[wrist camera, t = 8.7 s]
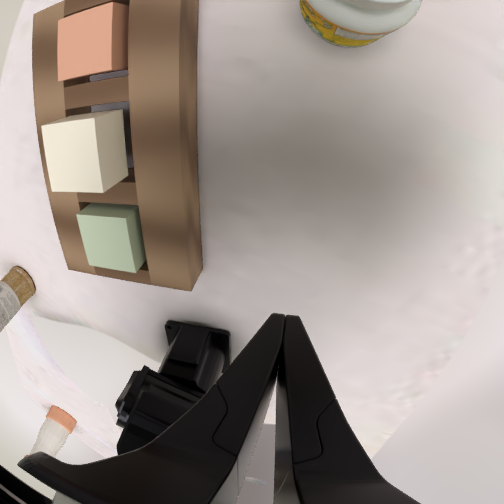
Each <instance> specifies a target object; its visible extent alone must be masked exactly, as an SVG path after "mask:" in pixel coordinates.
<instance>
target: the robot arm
mask: <svg viewBox="0 0 504 504" xmlns="http://www.w3.org/2000/svg"><path fill="white" fill-rule="evenodd" d="M165 330H166V334H167V339H168V343H169V348H168V351H167V353H166V355H165V357H164V359H163V362H162V364H161V366H160V368H159V370H158V373H157V372H155V371H153V370H151V369H149V367H147V366H145V365H144V367H143V368H142V370H141V371H134V372H133V374H132V376H131V378H130V380H129V382H128V383H127V385H126V387H125V388H124V390H123V392H122V393H121V395H120V396H119V398H118V399H117V402H116V404H115V406H116V408H117V411H118V415H117V417H119V418H118V420H117V423H116V425H118V426H120V427H122V428H124V429H123V431H122V434H121V436H120V438H119V441H118V443H117V453H118V455H117V456H114V457H110V458H107V459H103V460H99V461H96V462H92V463H88V464H83V465H71V464H66V463H64V462H61V461H59V460H57V459H56V458H54V457H52V456H50V455H48V454H46V453H44V452H41V451H39V452H37V453H34V454H31V455H29V456H27V457H25V458H23V459H22V460H21V461H20V462H19V463H18V464H17V465H18V466H19V467H20V468H22V469H23V470H25V471H26V472H28V473H29V474H30V475H32V476H33V477H35V478H37V479H38V480H40V481H41V482H43V483H44V484H46V485H47V486H49V487H51V488H52V489H54V490H56V493H55V496H54V498H53V500H50V499H49V498H48V497H46V496H44V495H43V494H41V493H40V492H38V491H36V490H35V489H33V488H32V487H30V486H29V485H27V484H26V483H24V482H23V481H22V480H20V479H19V478H17V477H16V476H15V475H13V474H12V473H10V472H9V471H8V470H6V469H5V468H4V467H3V466H1V465H0V504H236V502H237V499H238V496H239V493H240V490H241V488H242V485H243V482H244V479H245V477H246V474H247V471H248V468H249V465H250V462H251V459H252V456H253V453H254V450H255V447H256V444H257V441H258V438H259V435H260V432H261V429H262V426H263V423H264V419H265V416H266V413H267V410H268V407H269V403H270V400H271V397H272V393H273V390H274V387H275V383H276V378H277V385H276V437H275V438H276V439H275V472H274V473H275V474H274V502H273V504H420V503H419V502H417V501H416V500H414V499H413V498H411V497H409V496H408V495H406V494H405V493H403V492H402V491H400V490H399V489H397V488H396V487H394V486H393V485H391V484H390V483H388V482H387V481H386V480H385V479H384V478H383V477H382V476H381V475H380V473H379V472H378V471H377V469H376V468H375V466H374V465H373V463H372V461H371V460H370V458H369V457H368V455H367V453H366V452H365V450H364V449H363V447H362V445H361V444H360V442H359V441H358V439H357V437H356V436H355V434H354V432H353V431H352V429H351V427H350V425H349V424H348V422H347V420H346V418H345V416H344V414H343V412H342V410H341V407H340V405H339V403H338V401H337V399H336V396H335V394H334V392H333V390H332V387H331V385H330V383H329V381H328V378H327V376H326V374H325V372H324V369H323V367H322V365H321V363H320V361H319V358H318V356H317V354H316V352H315V349H314V347H313V345H312V343H311V341H310V338H309V336H308V334H307V332H306V330H305V327H304V325H303V323H302V321H301V319H300V317H299V316H295V315H286V318H285V315H284V314H278V313H272V314H271V315H270V317H269V318H268V319H267V320H266V322H265V323H264V324H263V325H262V327H261V328H260V329H259V330H258V332H257V333H256V334H255V335H254V337H253V338H252V339H251V340H250V341H249V343H248V344H247V345H246V346H245V348H244V349H243V350H242V351H241V352H240V354H239V355H238V356H237V357H236V359H235V360H234V361H233V362H232V363H231V349H230V334H229V332H227V331H223V330H217V329H211V328H205V327H199V326H193V325H188V324H182V323H177V322H172V321H167V322H166V324H165ZM278 366H279V367H278ZM221 373H223V374H222V375H221ZM277 373H278V374H277Z"/></svg>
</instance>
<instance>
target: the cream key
mask: <svg viewBox="0 0 504 504" xmlns="http://www.w3.org/2000/svg"><path fill="white" fill-rule="evenodd" d="M41 128H42V136H43V143H44V150H45V157H46V163H47V168H48V174H49V179H50V184H51V189H52V192H90V193H104V192H105V191H107V190H108V189H110V188H111V187H112V186H114V185H115V184H117V183H118V182H120V181H121V180H122V179H124V178H125V177H127V176H128V167H127V158H126V147H125V135H124V122H123V109H120V110H110V111H101V112H93V113H86V114H79V115H72V116H68V117H65V118H62V119H59V120H56V121H53V122H51V123H48V124H45V125H42V126H41Z"/></svg>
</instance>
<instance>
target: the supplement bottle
mask: <svg viewBox="0 0 504 504" xmlns="http://www.w3.org/2000/svg"><path fill="white" fill-rule="evenodd" d="M421 2H422V0H300V8H301V12H302V15H303V18H304V19H305V21H306V23H307V24H308V25H309V27H310V28H311V29H312V30H313V31H314V32H315V33H316V34H317V35H318V36H320V37H321V38H322V39H324V40H326V41H327V42H330V43H332V44H335V45H338V46H343V47H359V46H364V45H367V44H370V43H372V42H374V41H376V40H378V39H380V38H381V37H383V36H385V35H387V34H389V33H391V32H393V31H395V30H397V29H399V28H401V27H402V26H404V25H405V24H407V23H408V22H409V21H410V20H411V19H412V18H413V17H414V16H415V15H416V13H417V12H418V10H419V8H420V5H421Z"/></svg>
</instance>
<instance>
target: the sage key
mask: <svg viewBox="0 0 504 504" xmlns="http://www.w3.org/2000/svg"><path fill="white" fill-rule="evenodd" d="M76 215H77V220H78V224H79V228H80V233H81V237H82V241H83V244H84V248H85V252H86V256H87V259H88V263H89V265H91V266H97V267H103V268H108V269H114V270H120V271H126V272H132V273H136V272H137V271H138V270H139V268H140V267H141V266H142V265H143V263H144V262H145V261H146V259H147V258H146V252H145V246H144V240H143V233H142V227H141V220H140V213H139V205H127V204H111V203H94V202H92V203H90V204H89V205H88V206H86V207H85V208H84V209H83V210H81V211H80V212H79V213H77V214H76Z"/></svg>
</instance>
